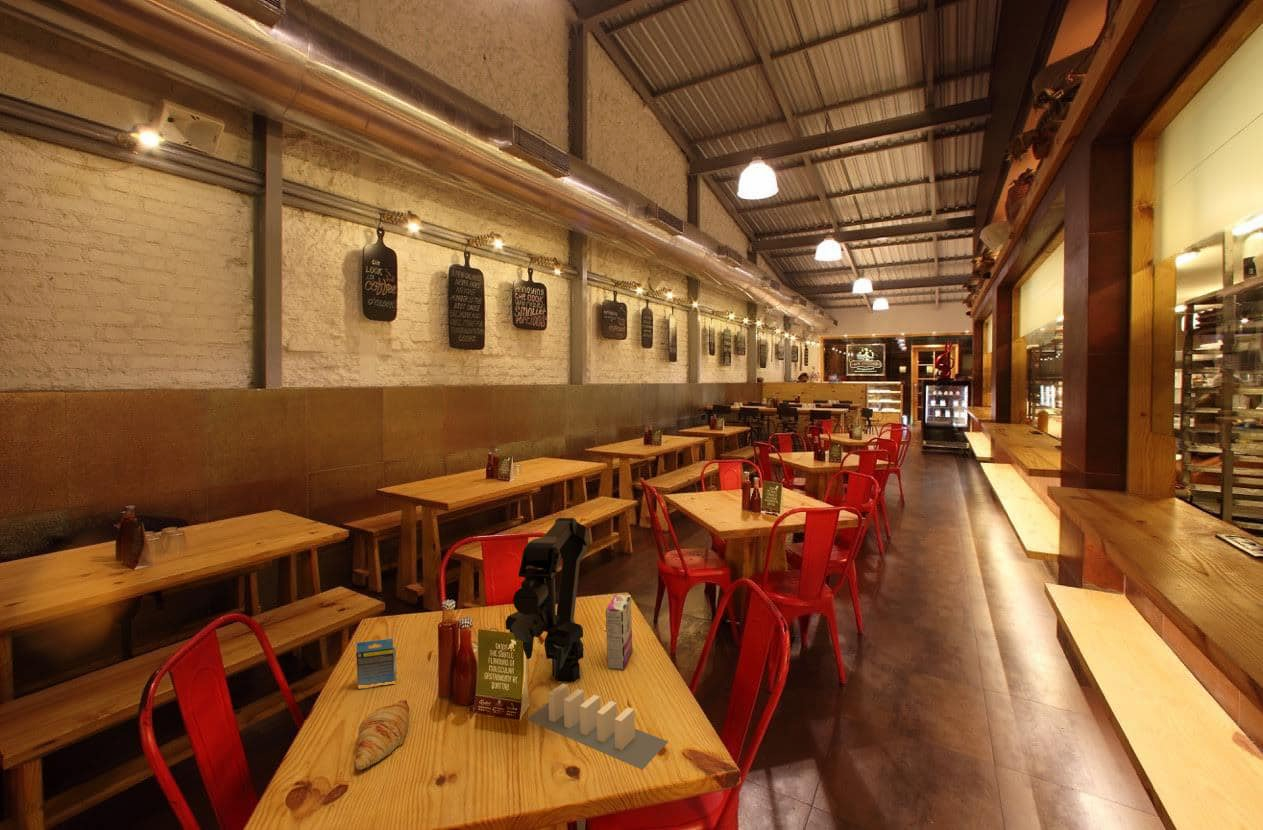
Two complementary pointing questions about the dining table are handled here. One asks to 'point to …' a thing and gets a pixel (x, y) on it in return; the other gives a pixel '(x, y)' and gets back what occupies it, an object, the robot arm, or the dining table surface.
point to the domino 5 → (624, 728)
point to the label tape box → (376, 662)
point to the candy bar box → (619, 631)
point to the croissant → (381, 733)
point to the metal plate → (632, 753)
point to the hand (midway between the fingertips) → (544, 663)
